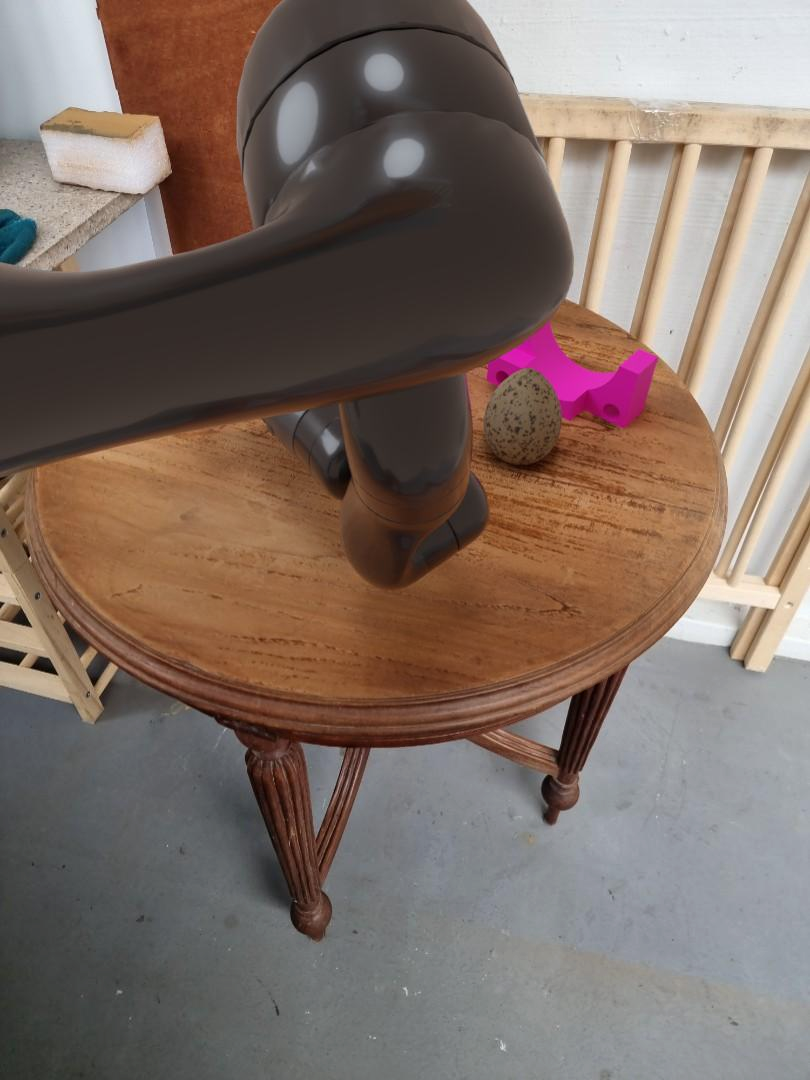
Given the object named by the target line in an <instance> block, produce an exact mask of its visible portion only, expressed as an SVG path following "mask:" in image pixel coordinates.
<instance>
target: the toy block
mask: <svg viewBox="0 0 810 1080" xmlns="http://www.w3.org/2000/svg"><path fill="white" fill-rule="evenodd" d="M554 335H555V334H554V333H553V329H552V326H551V320H550V321H549V322H548V323H547V324H546V325H545V326H544V327H543V328H541V329H540V330H539V331H538V332H537V333H536V334H534V335H533V336H532V337H531V338H530V339H529V340H527V341H526V342H524V343H523V344H521V345H520V346H518V347H517V348H515V349H513V350H511V351H509V352H508V353H506V354H504V355H502V356H501V357H499V358H497V359H495V360H494V361H492V362H490V363H488V364H487V371H486V382H488V383H490V384H492V385H494V386H496V387H498V386H499V385H500V384H501V383H502V382H503V381H504V380H505V379H506V378H508V377H509V376H510V375H512V374H513V373H515V372H517V371H519V370H522V369H526V368H531V369H535V370H537V371H539V372H540V373H541V374H542V375H543V376H544V377H545V378H546V379H547V380H548V381H549V382H550V384H551V385H552V387H553V388H554V390H555V392H556V394H557V397H558V399H559V402H560V407H561V413H562V419H564V420H566V421H569V422H571V421H572V420H574V418H576V417H577V416H578V415H579V414H580V413H581V412H582V411H586V412H588V413H590V414H592V415H594V416H596V417H598V418H601V419H603V420H605V421H606V422H609V423H611V424H613V425H616V426H617V427H619V428H622V429H626V428H627V427H628V425H629V424H631V423H632V422H633V421H634V420H635V419H636V418H637V417H639V415H641V414H642V413H643V412H644V409H645V405H646V403H647V398H648V395H649V392H650V388H651V385H652V382H653V377H654V374H655V371H656V367H657V363H658V360H659V356H657V355H656V354H652V353H650V352H648V351H646V350H643V349H641V348H638V349H637V350H636V351H635V352H633V354H631V355H630V356H629V357H627V358H626V360H624V361H623V362H622V363H621V364H620V365H619V366H618V367H617V370H615V371H612V372H597V371H592V370H589V369H587V368H585V367H582V366H581V365H579V364H577V363H576V362H574V360H572V359H570V357H568V355H567V354H566V353H565V352H564V351H563V350H562V349H561V346H560V345H559V343H558V342H557V340H556V338H555V336H554Z"/></svg>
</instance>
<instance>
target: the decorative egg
mask: <svg viewBox="0 0 810 1080" xmlns="http://www.w3.org/2000/svg"><path fill="white" fill-rule="evenodd" d="M562 422H563V418H562V413H561V407H560V402H559V399H558V397H557V394H556V392H555V390H554V388H553V387H552V385H551V384H550V382H549V381H548V380H547V379H546V378H545V377H544V376H543V375H542V374H541V373H540V372H539V371H537V370H535V369H531V368H526V369H522V370H519V371H517V372H515V373H513V374H512V375H510V376H509V377H508V378H506V379H505V380H504V381H503V382H502V383H501V384H500V385H499V386H496V388H495V389H494V391H493V392H492V394H491V396H490V397H489V400H488V402H487V404H486V407H485V410H484V415H483V433H484V439H485V440H486V442H487V445H488V447H489V448H490V450H491V451H492V453H493V454H494V455H495V456H496V457H498V459H500V460H501V461H503V462H505V463H506V464H507V463H508V464H510V465H513V466H529V465H532V464H535V463H538V462H539V461H541V460H543V459H544V458H545V457H546V456H548V454H549V453H551V451H552V450H553V449H554V447H555V445H556V444H557V442H558V439H559V438H560V435H561V430H562V424H563V423H562Z"/></svg>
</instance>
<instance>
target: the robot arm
mask: <svg viewBox="0 0 810 1080" xmlns="http://www.w3.org/2000/svg"><path fill="white" fill-rule="evenodd" d="M236 97H237V99H236V129H235V131H236V134H235V135H236V147H237V153H238V159H239V165H240V173H241V179H242V183H243V187H244V191H245V196H246V200H247V204H248V209H249V213H250V218H251V219H250V220H251V223H252V228H253V229H252V230H250V231H248V232H245V233H243V234H240V235H238V236H235V237H232V238H229V239H227V240H224V241H220V242H217V243H213V244H209V245H205V246H203V247H199V248H196V249H192V250H188V251H185V252H179V253H176V254H171V255H166V256H162V257H158V258H153V259H149V260H143V261H139V262H134V263H131V264H130V263H129V264H125V265H121V266H116V267H111V268H110V267H109V268H103V269H102V268H101V269H94V270H93V269H92V270H86V271H85V270H84V271H65V270H64V271H60V270H59V271H56V270H47V269H40V268H39V269H38V268H30V267H26V266H25V267H24V266H20V265H15V264H11V263H6V262H1V261H0V479H1V478H5V477H7V476H12V475H16V474H19V473H23V472H26V471H30V470H34V469H37V468H41V467H45V466H48V465H53V464H56V463H60V462H64V461H68V460H72V459H76V458H79V457H82V456H87V455H91V454H96V453H99V452H102V451H103V452H104V451H108V450H110V449H115V448H118V447H122V446H126V445H131V444H136V443H141V442H146V441H150V440H156V439H160V438H165V437H170V436H176V435H182V434H186V433H192V432H196V431H201V430H207V429H212V428H218V427H223V426H229V425H234V424H240V423H246V422H250V421H256V420H262V421H263V423H264V424H265V425H266V428H267V429H268V430H269V432H270V434H271V435H272V436H274V437H276V439H277V440H278V441H279V442H280V443H281V445H282V446H283V447H284V448H285V449H286V450H287V451H288V452H290V453H291V454H292V455H293V456H295V457H296V458H297V459H298V461H299V462H300V463H301V464H302V465H303V467H304V468H305V469H306V471H308V473H309V474H310V475H311V476H312V478H313V479H314V480H315V481H316V483H318V485H319V486H320V487H321V489H323V491H324V492H325V493H327V495H329V496H330V497H331V498H333V499H335V500H337V501H341V505H340V510H339V515H338V531H339V532H338V533H339V537H340V543H341V546H342V549H343V552H344V554H345V557H346V559H347V560H348V562H349V564H350V565H351V567H352V568H353V570H354V571H355V572H356V574H357V575H358V576H359V577H360V578H361V579H362V580H364V581H365V582H366V583H368V584H369V585H370V586H373V587H375V588H378V589H380V590H385V591H398V590H402V589H405V588H408V587H410V586H412V585H413V584H415V583H416V582H418V581H419V580H421V579H423V578H424V577H426V575H428V574H430V573H431V572H433V571H434V570H435V569H437V568H438V567H439V566H441V565H442V564H444V563H445V562H447V561H448V560H449V559H451V558H452V557H454V556H455V555H456V554H458V553H459V552H461V551H462V550H464V549H465V548H467V547H468V546H470V545H471V544H472V543H474V542H475V541H477V540H478V539H479V538H480V537H481V536H482V535H483V533H484V532H485V530H486V529H487V527H488V524H489V522H490V514H491V507H490V502H489V497H488V494H487V491H486V490H485V487H484V485H483V484H482V482H481V481H480V479H479V478H478V477H477V475H476V474H475V473H474V472H473V471H472V470H471V465H472V457H473V445H474V444H473V441H474V425H473V424H474V423H473V421H474V420H473V411H472V404H471V398H470V391H469V383H468V377H467V373H468V372H470V371H472V370H473V371H474V370H475V369H478V368H480V367H483V366H485V365H488V363H490V362H492V361H494V360H495V359H497V358H499V357H501V356H502V355H504V354H506V353H508V352H509V351H511V350H513V349H515V348H517V347H518V346H520V345H521V344H523V343H524V342H526V341H527V340H529V339H530V338H531V337H532V336H533V335H534V334H536V333H537V332H538V331H539V330H540V329H541V328H543V327H544V326H545V325H546V324H547V323H548V322H549V321H550V322H551V320H552V318H553V317H554V315H555V314H556V313H557V311H558V310H559V309H560V307H561V306H562V304H563V303H564V302H565V300H566V298H567V296H568V293H569V291H570V288H571V285H572V281H573V277H574V267H575V254H574V248H573V243H572V238H571V232H570V230H569V226H568V222H567V220H566V216H565V213H564V211H563V210H564V209H563V208H562V205H561V202H560V199H559V196H558V194H557V191H556V189H555V186H554V183H553V180H552V177H551V174H550V172H549V168H548V166H547V162H546V160H545V158H544V155H543V152H542V150H541V147H540V145H539V144H540V143H539V142H538V139H537V137H536V134H535V131H534V129H533V127H532V123H531V121H530V118H529V115H528V113H527V111H526V108H525V105H524V102H523V99H522V97H521V95H520V92H519V90H518V88H517V84H516V81H515V78H514V76H513V74H512V71H511V69H510V66H509V63H508V62H507V60H506V58H505V56H504V54H503V52H502V50H501V48H500V47H499V45H498V43H497V41H496V39H495V37H494V36H493V33H492V31H491V30H490V28H489V26H488V25H487V24H486V22H485V20H484V19H483V18H482V16H481V15H480V14H479V13H478V12H477V10H476V9H475V8H474V7H473V6H472V5H471V3H470V2H469V1H468V0H281V1H280V2H279V3H278V4H277V5H276V6H275V7H274V8H273V9H272V11H271V12H270V13H269V15H268V17H267V18H266V20H265V21H264V22H263V24H262V25H261V26H260V28H259V29H258V31H257V32H256V35H255V37H254V39H253V42H252V44H251V46H250V48H249V50H248V53H247V55H246V58H245V60H244V63H243V68H242V72H241V77H240V81H239V86H238V89H237V96H236Z"/></svg>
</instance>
